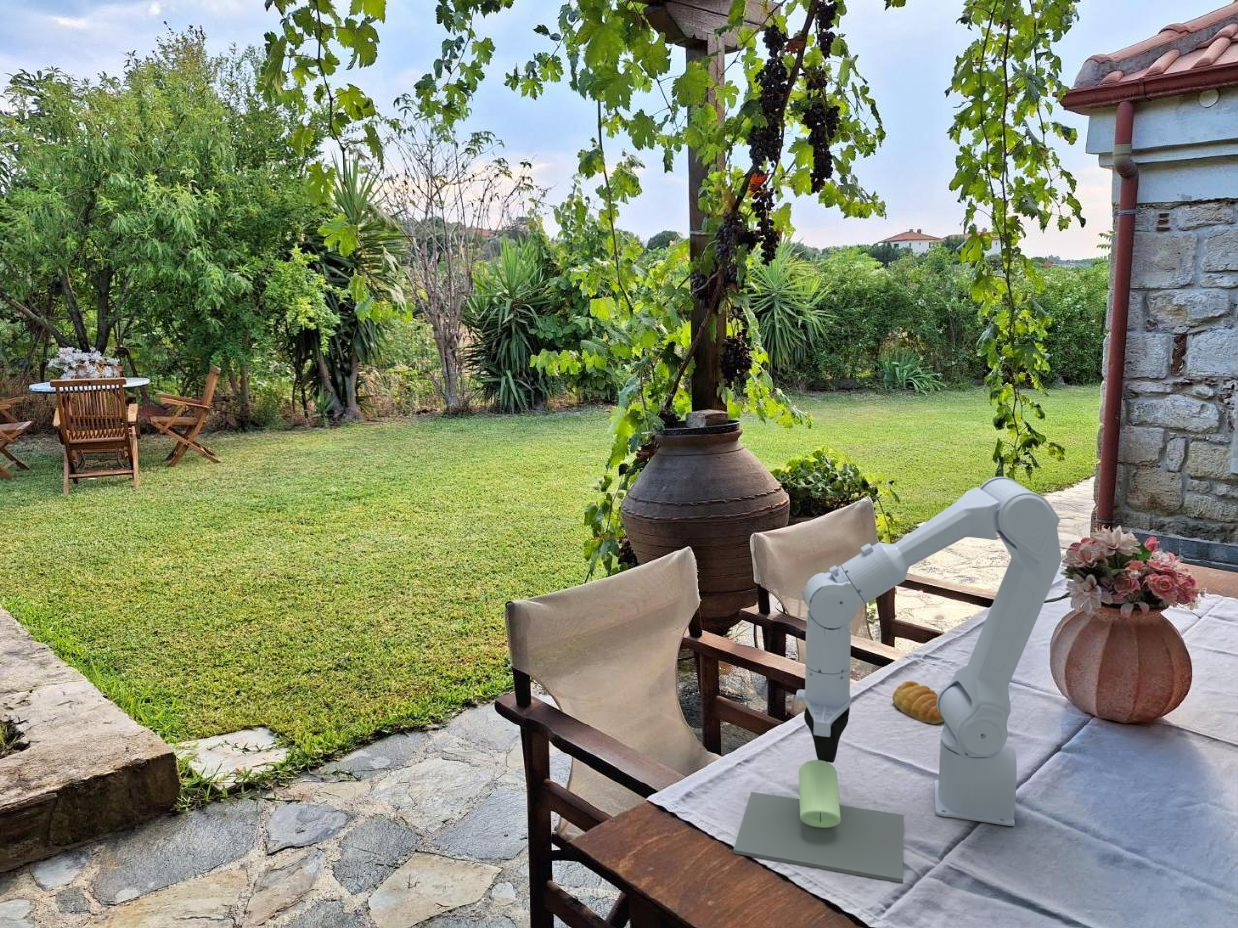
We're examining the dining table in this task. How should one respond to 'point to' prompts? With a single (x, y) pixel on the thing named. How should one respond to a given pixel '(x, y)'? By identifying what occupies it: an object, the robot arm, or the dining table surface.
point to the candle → (819, 794)
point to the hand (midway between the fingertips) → (826, 759)
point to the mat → (823, 838)
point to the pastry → (917, 702)
